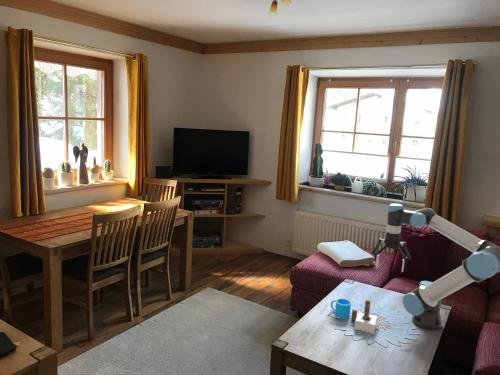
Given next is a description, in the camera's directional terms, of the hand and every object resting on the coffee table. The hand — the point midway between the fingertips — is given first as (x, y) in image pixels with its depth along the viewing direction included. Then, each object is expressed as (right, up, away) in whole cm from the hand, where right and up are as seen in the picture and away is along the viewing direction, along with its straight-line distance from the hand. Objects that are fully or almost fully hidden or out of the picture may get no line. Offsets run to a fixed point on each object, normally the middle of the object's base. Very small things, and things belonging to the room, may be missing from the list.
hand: (389, 268), depth 222 cm
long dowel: (-15, -30, -7) cm, 34 cm away
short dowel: (-20, -29, -1) cm, 35 cm away
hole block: (-15, -30, -7) cm, 34 cm away
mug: (-26, -27, +6) cm, 39 cm away
